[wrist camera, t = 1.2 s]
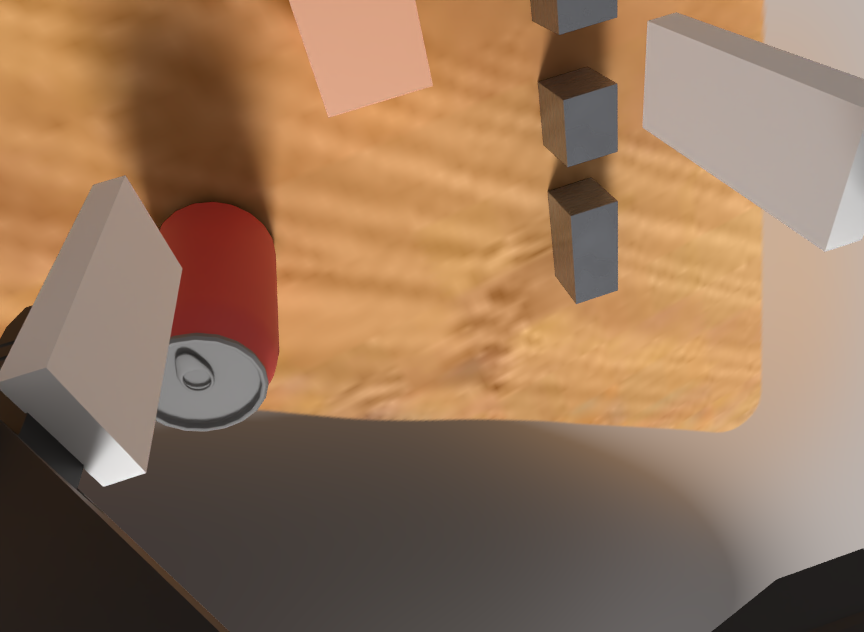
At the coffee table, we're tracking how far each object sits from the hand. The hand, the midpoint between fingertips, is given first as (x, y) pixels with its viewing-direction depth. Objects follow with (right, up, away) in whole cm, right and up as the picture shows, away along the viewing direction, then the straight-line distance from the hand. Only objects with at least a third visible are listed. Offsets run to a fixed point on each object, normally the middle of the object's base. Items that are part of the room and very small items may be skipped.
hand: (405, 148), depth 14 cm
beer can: (-12, 0, +19) cm, 23 cm away
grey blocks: (+8, +8, +19) cm, 22 cm away
